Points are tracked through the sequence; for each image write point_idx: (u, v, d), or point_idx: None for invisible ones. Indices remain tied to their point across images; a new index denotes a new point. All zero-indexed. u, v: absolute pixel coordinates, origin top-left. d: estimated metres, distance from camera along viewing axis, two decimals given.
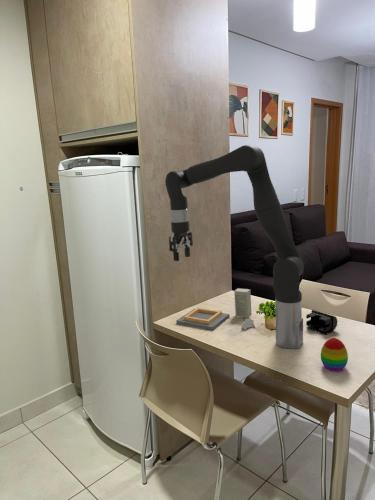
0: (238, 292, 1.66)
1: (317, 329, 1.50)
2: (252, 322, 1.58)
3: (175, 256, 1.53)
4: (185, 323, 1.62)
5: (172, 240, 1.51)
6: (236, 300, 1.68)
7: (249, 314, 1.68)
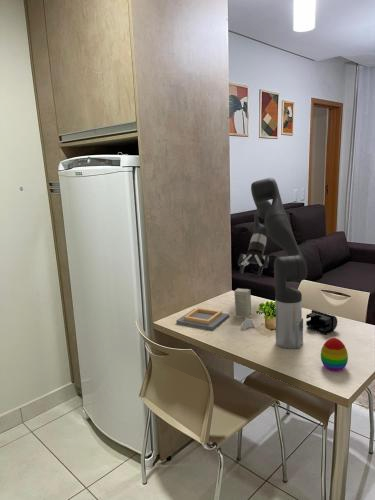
0: (238, 292, 1.66)
1: (317, 329, 1.50)
2: (252, 322, 1.58)
3: (240, 268, 1.80)
4: (185, 323, 1.62)
5: None
6: (236, 300, 1.68)
7: (249, 314, 1.68)
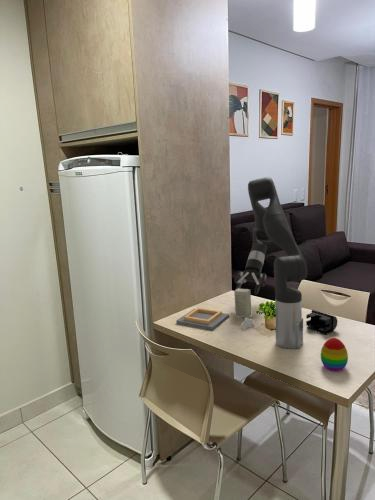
0: (238, 292, 1.66)
1: (317, 329, 1.50)
2: (252, 322, 1.58)
3: None
4: (185, 323, 1.62)
5: None
6: (236, 300, 1.68)
7: (249, 314, 1.68)
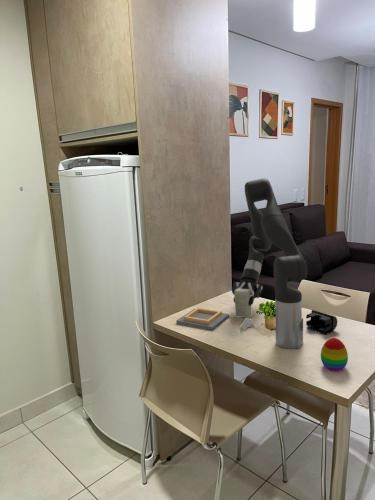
0: (238, 292, 1.66)
1: (317, 329, 1.50)
2: (251, 322, 1.58)
3: None
4: (185, 323, 1.62)
5: None
6: (236, 300, 1.68)
7: (249, 314, 1.68)
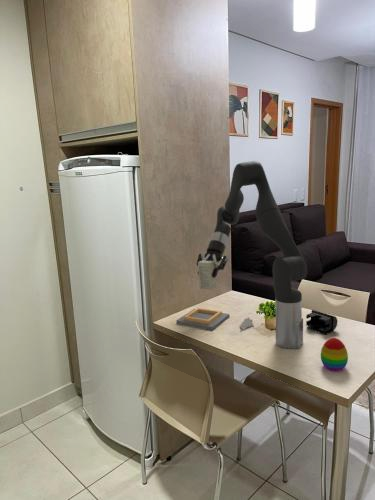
0: (201, 263, 1.62)
1: (317, 329, 1.50)
2: (251, 321, 1.58)
3: None
4: (185, 323, 1.62)
5: None
6: (200, 272, 1.63)
7: (213, 286, 1.63)
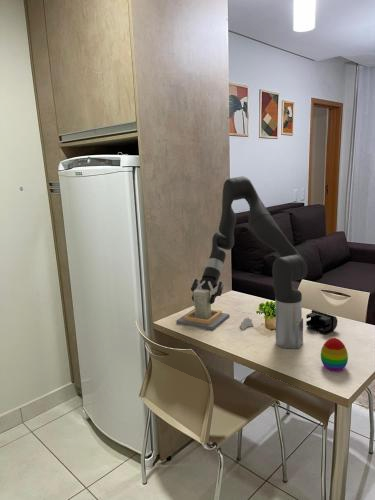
0: (197, 293, 1.64)
1: (317, 329, 1.50)
2: (251, 321, 1.58)
3: None
4: (185, 323, 1.62)
5: None
6: (195, 301, 1.65)
7: (208, 315, 1.65)
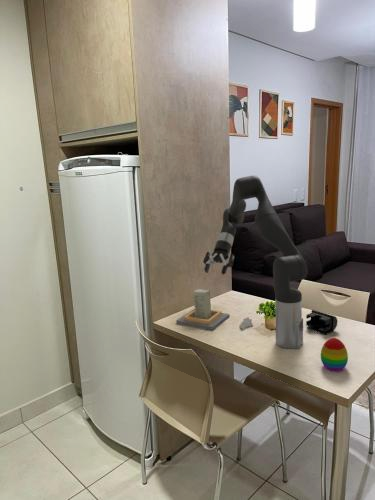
0: (197, 293, 1.64)
1: (317, 329, 1.50)
2: (250, 321, 1.59)
3: None
4: (185, 323, 1.62)
5: None
6: (195, 301, 1.65)
7: (208, 315, 1.65)
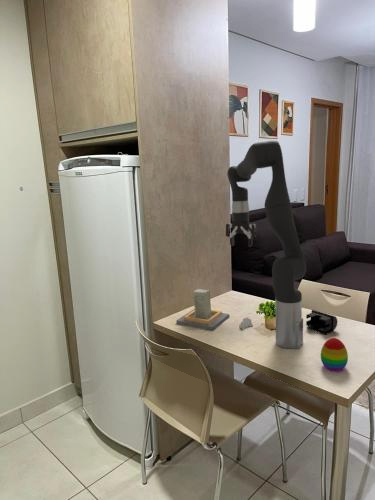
0: (197, 293, 1.64)
1: (317, 329, 1.50)
2: (250, 321, 1.59)
3: None
4: (185, 323, 1.62)
5: None
6: (195, 301, 1.65)
7: (208, 315, 1.65)
